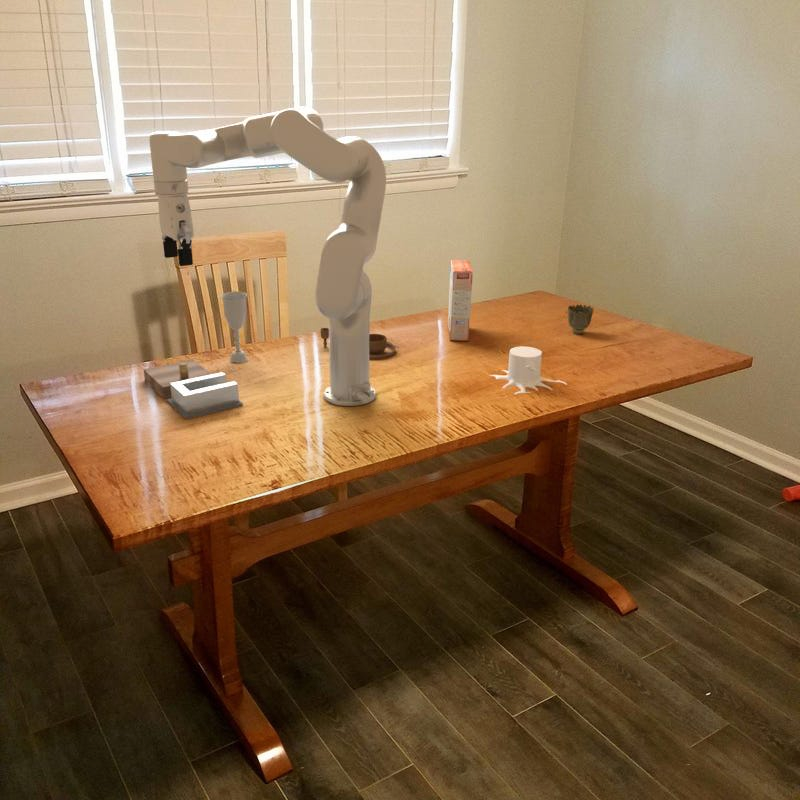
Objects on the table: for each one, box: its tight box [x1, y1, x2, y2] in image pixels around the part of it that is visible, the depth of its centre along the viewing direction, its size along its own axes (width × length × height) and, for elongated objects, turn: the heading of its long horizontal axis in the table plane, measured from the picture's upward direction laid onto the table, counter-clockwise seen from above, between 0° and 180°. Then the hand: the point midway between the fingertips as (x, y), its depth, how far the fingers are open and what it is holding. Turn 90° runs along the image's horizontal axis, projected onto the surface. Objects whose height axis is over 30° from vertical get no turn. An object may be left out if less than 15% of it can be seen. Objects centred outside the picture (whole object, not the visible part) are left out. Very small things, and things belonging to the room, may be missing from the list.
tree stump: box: [489, 345, 568, 395], centre depth 203 cm, size 20×19×8 cm
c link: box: [170, 371, 240, 414], centre depth 187 cm, size 13×9×4 cm
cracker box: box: [447, 259, 474, 342], centre depth 234 cm, size 14×6×21 cm, turn 179°
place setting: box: [320, 327, 400, 360], centre depth 224 cm, size 18×20×6 cm
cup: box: [567, 303, 594, 335], centre depth 239 cm, size 8×7×8 cm
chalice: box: [220, 291, 249, 364], centre depth 212 cm, size 7×7×18 cm
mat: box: [166, 397, 244, 420], centre depth 188 cm, size 12×14×1 cm
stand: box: [143, 359, 212, 399], centre depth 198 cm, size 14×13×6 cm
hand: (178, 261), depth 191 cm, fingers open, 9 cm apart
